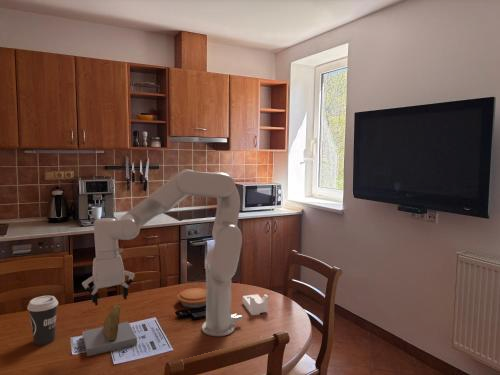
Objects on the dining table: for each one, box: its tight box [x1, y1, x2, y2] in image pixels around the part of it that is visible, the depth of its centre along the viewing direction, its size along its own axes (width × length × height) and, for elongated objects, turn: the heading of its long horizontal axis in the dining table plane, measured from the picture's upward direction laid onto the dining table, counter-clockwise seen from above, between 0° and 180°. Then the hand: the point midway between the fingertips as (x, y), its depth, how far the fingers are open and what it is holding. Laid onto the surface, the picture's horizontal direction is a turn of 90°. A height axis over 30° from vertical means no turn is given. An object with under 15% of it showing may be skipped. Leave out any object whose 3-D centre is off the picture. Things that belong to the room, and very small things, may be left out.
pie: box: [176, 287, 206, 309], centre depth 167 cm, size 15×16×5 cm
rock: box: [103, 303, 121, 340], centre depth 133 cm, size 11×9×10 cm
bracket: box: [242, 293, 269, 316], centre depth 162 cm, size 13×7×8 cm, turn 18°
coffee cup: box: [27, 295, 59, 346], centre depth 132 cm, size 10×10×15 cm
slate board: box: [82, 321, 138, 357], centre depth 133 cm, size 16×14×2 cm
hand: (110, 301), depth 132 cm, fingers open, 9 cm apart
